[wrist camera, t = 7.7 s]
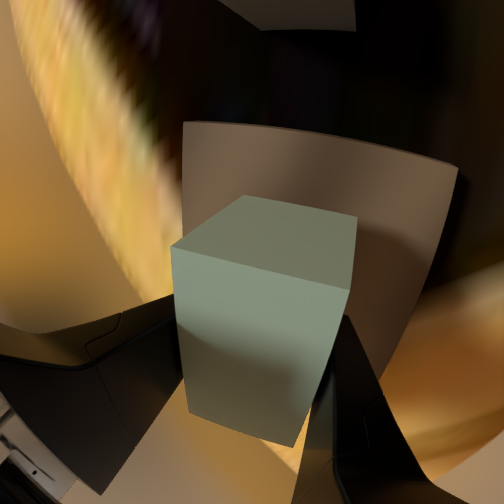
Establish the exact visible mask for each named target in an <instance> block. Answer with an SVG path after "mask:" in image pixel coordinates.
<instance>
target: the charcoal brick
mask: <svg viewBox="0 0 504 504" xmlns="http://www.w3.org/2000/svg"><path fill="white" fill-rule="evenodd" d="M218 1H220V2H221V3H223V4H224V5H226V6H227V7H229V8H230V9H232V10H233V11H235V12H236V13H238V14H239V15H241V16H242V17H243V18H245V19H246V20H248V21H249V22H250V23H252V24H253V25H254V26H256V27H257V28H258V29H260V30H261V31H267V30H293V29H314V30H340V31H354V32H356V18H355V0H218Z"/></svg>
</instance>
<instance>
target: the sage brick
mask: <svg viewBox="0 0 504 504" xmlns="http://www.w3.org/2000/svg"><path fill="white" fill-rule="evenodd" d="M356 230H357V217H355V216H351V215H346V214H342V213H337V212H332V211H327V210H322V209H318V208H313V207H308V206H302V205H297V204H292V203H287V202H282V201H276V200H271V199H265V198H259V197H254V196H248V195H243V196H241V197H240V198H238V199H237V200H235V201H234V202H233V203H231V204H230V205H228V206H227V207H225V208H224V209H222V210H221V211H219V212H218V213H217V214H215V215H214V216H212V217H211V218H209V219H208V220H207V221H205V222H204V223H202V224H201V225H200V226H198V227H197V228H195V229H194V230H193V231H191V232H190V233H188V234H187V235H186V236H184V237H183V238H181V239H180V240H179V241H177V242H176V243H175V244H173V245H172V246H170V248H171V264H172V278H173V290H174V301H175V311H176V321H177V330H178V339H179V347H180V355H181V363H182V370H183V377H184V384H185V390H186V396H187V403H188V409H189V412H190V413H192V414H194V415H196V416H199V417H201V418H204V419H206V420H209V421H212V422H214V423H217V424H219V425H222V426H225V427H227V428H230V429H233V430H236V431H239V432H242V433H245V434H248V435H251V436H254V437H257V438H260V439H263V440H266V441H270V442H273V443H277V444H280V445H284V446H287V447H291V448H293V447H294V444H295V442H296V440H297V438H298V435H299V433H300V431H301V428H302V426H303V424H304V421H305V419H306V416H307V414H308V412H309V409H310V407H311V404H312V402H313V399H314V396H315V394H316V391H317V389H318V386H319V383H320V381H321V378H322V375H323V372H324V370H325V367H326V364H327V361H328V358H329V356H330V353H331V350H332V347H333V344H334V341H335V338H336V335H337V332H338V328H339V325H340V322H341V319H342V316H343V312H344V309H345V306H346V302H347V299H348V295H349V292H350V286H351V278H352V270H353V261H354V252H355V241H356Z"/></svg>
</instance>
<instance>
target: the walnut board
mask: <svg viewBox="0 0 504 504" xmlns="http://www.w3.org/2000/svg"><path fill="white" fill-rule="evenodd" d="M457 172H458V168H457V167H455V166H454V165H452V164H450V163H447V162H443V161H440V160H437V159H433V158H430V157H426V156H423V155H419V154H416V153H412V152H408V151H404V150H400V149H396V148H392V147H388V146H384V145H379V144H375V143H370V142H366V141H361V140H356V139H351V138H346V137H340V136H335V135H329V134H323V133H317V132H310V131H304V130H297V129H289V128H281V127H273V126H263V125H253V124H242V123H229V122H212V121H189V122H183V155H182V224H183V237H184V236H186V235H187V234H188V233H190V232H191V231H193V230H194V229H195V228H197V227H198V226H200V225H201V224H202V223H204V222H205V221H207V220H208V219H209V218H211V217H212V216H214V215H215V214H217V213H218V212H219V211H221V210H222V209H224V208H225V207H227V206H228V205H230V204H231V203H233V202H234V201H235V200H237V199H238V198H240V197H241V196H243V195H248V196H254V197H259V198H265V199H271V200H276V201H282V202H287V203H292V204H297V205H302V206H308V207H313V208H318V209H322V210H327V211H332V212H337V213H342V214H346V215H351V216H355V217H357V230H356V241H355V252H354V261H353V270H352V278H351V286H350V292H349V295H348V299H347V302H346V306H345V309H344V312H343V314H345V315H348V316H349V317H350V320H351V322H352V324H353V326H354V328H355V330H356V332H357V335H358V337H359V339H360V341H361V343H362V346H363V348H364V350H365V352H366V354H367V357H368V359H369V361H370V363H371V366H372V368H373V370H374V373H375V375H376V377H377V379H378V380H379V379H380V377H381V376H382V374H383V372H384V370H385V368H386V366H387V364H388V363H389V361H390V359H391V357H392V355H393V353H394V351H395V349H396V347H397V345H398V343H399V341H400V339H401V337H402V334H403V332H404V330H405V328H406V326H407V324H408V321H409V319H410V317H411V315H412V312H413V310H414V308H415V305H416V303H417V301H418V298H419V296H420V293H421V291H422V288H423V286H424V283H425V280H426V278H427V275H428V272H429V270H430V267H431V264H432V261H433V258H434V255H435V253H436V250H437V246H438V243H439V240H440V237H441V234H442V231H443V227H444V224H445V220H446V217H447V213H448V210H449V206H450V202H451V198H452V194H453V190H454V186H455V181H456V177H457Z"/></svg>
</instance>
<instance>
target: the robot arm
mask: <svg viewBox="0 0 504 504" xmlns="http://www.w3.org/2000/svg"><path fill="white" fill-rule="evenodd" d="M183 378H184V377H183V370H182V363H181V355H180V347H179V339H178V330H177V321H176V311H175V301H174V294H171V295H168V296H166V297H163V298H160V299H157V300H154V301H151V302H149V303H146V304H143V305H140V306H137V307H134V308H131V309H129V310H126V311H123V312H122V313H117V314H114V315H111V316H108V317H105V318H102V319H99V320H96V321H92V322H88V323H85V324H81V325H77V326H73V327H69V328H65V329H61V330H57V331H53V332H48V333H41V334H36V333H29V332H25V331H22V330H19V329H16V328H13V327H10V326H8V325H5V324H2V323H0V504H61V503H60V502H59V501H60V500H61V498H62V497H63V496H64V494H65V493H66V492H67V491H68V490H69V488H70V487H71V486H72V485H73V484H74V482H75V481H76V480H77V479H78V480H79V481H81V482H82V483H83V484H85V485H86V486H87V487H89V488H90V489H92V490H93V491H94V492H96V493H97V494H99V495H100V496H101V495H102V494H103V493H104V491H105V490H106V488H107V487H108V486H109V484H110V483H111V481H112V480H113V479H114V477H115V476H116V474H117V473H118V472H119V470H120V469H121V467H122V466H123V465H124V463H125V462H126V460H127V459H128V457H129V456H130V455H131V453H132V452H133V450H134V449H135V447H136V446H137V444H138V443H139V442H140V440H141V439H142V437H143V436H144V434H145V433H146V431H147V430H148V429H149V427H150V426H151V424H152V423H153V421H154V420H155V418H156V417H157V416H158V414H159V413H160V411H161V410H162V408H163V407H164V405H165V404H166V403H167V401H168V400H169V398H170V397H171V395H172V394H173V392H174V391H175V389H176V388H177V387H178V385H179V384H180V382H181V381H182V379H183ZM291 504H469V503H467V502H465V501H463V500H461V499H459V498H457V497H455V496H454V495H452V494H450V493H448V492H446V491H444V490H443V489H441V488H439V487H437V486H436V485H434V484H433V483H432V482H431V481H430V480H429V479H428V478H427V476H426V475H425V474H424V472H423V471H422V469H421V467H420V465H419V463H418V462H417V460H416V458H415V456H414V454H413V452H412V451H411V449H410V447H409V445H408V443H407V441H406V440H405V438H404V436H403V434H402V432H401V430H400V428H399V427H398V425H397V423H396V421H395V419H394V417H393V414H392V412H391V410H390V408H389V405H388V403H387V401H386V398H385V396H384V395H383V391H382V389H381V386H380V384H379V382H378V379H377V377H376V375H375V373H374V370H373V368H372V366H371V363H370V361H369V359H368V357H367V354H366V352H365V350H364V348H363V346H362V343H361V341H360V339H359V337H358V335H357V332H356V330H355V328H354V326H353V324H352V322H351V320H350V317H349V316H348V315H345V314H343V316H342V319H341V322H340V325H339V328H338V332H337V335H336V338H335V341H334V344H333V347H332V350H331V353H330V356H329V358H328V361H327V364H326V367H325V370H324V372H323V375H322V378H321V381H320V383H319V386H318V389H317V391H316V394H315V396H314V399H313V402H312V406H311V412H310V417H309V423H308V428H307V433H306V439H305V444H304V449H303V453H302V458H301V463H300V468H299V472H298V476H297V481H296V485H295V489H294V494H293V498H292V502H291Z"/></svg>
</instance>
